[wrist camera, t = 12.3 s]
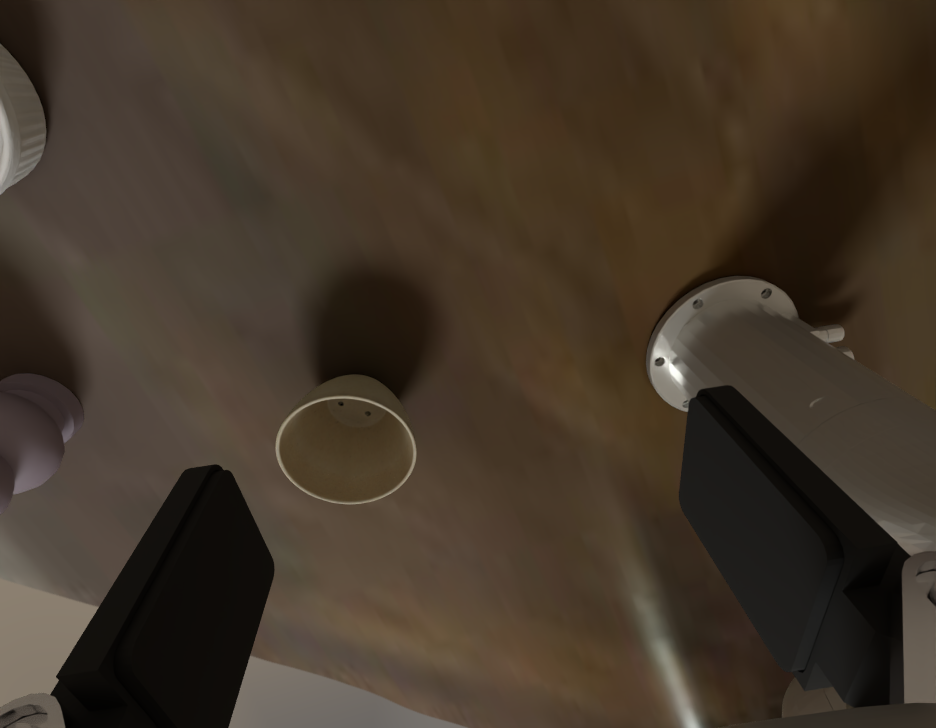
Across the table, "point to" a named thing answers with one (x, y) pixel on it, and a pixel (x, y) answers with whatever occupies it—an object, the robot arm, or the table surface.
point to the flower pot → (347, 441)
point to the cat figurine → (33, 431)
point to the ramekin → (18, 122)
